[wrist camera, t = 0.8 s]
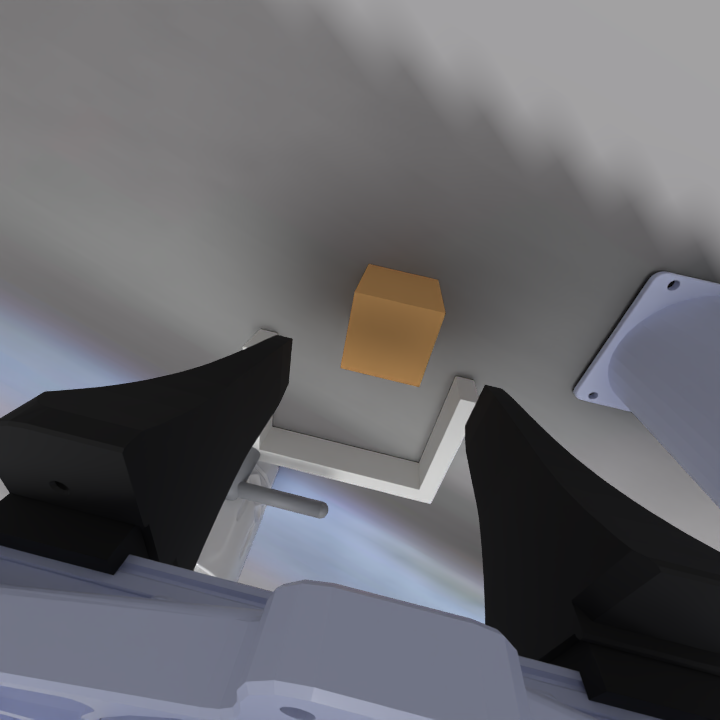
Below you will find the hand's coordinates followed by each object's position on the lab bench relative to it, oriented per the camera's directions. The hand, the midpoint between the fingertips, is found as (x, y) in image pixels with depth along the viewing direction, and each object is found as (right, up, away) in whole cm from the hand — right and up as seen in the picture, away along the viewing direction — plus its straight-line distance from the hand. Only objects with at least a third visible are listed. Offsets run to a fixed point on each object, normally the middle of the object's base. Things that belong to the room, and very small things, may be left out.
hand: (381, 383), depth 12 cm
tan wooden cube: (+1, +4, +7) cm, 8 cm away
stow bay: (-1, -2, +11) cm, 12 cm away
